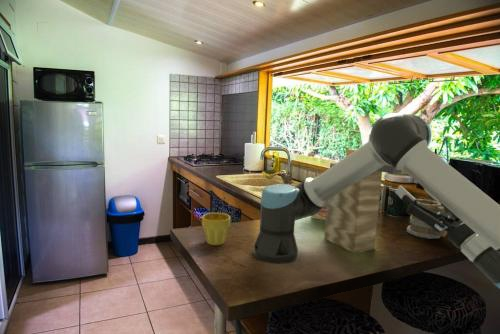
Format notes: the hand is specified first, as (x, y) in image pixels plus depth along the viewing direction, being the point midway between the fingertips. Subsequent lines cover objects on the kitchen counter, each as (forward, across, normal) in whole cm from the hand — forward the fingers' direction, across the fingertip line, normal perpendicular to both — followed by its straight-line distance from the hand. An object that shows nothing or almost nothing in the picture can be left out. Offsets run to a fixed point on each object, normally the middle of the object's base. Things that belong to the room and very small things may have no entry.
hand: (412, 187), depth 101 cm
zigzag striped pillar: (+8, 0, -35) cm, 36 cm away
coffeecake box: (+32, +15, -50) cm, 61 cm away
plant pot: (+25, -46, -45) cm, 69 cm away
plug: (+16, 0, -5) cm, 17 cm away
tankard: (+2, +39, -32) cm, 51 cm away
